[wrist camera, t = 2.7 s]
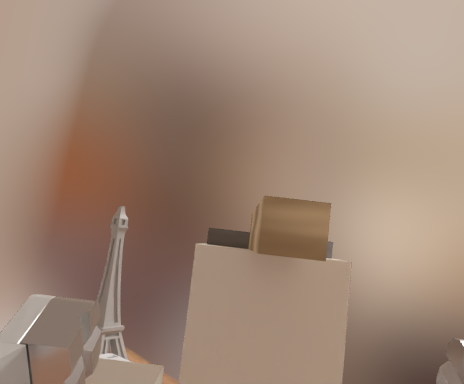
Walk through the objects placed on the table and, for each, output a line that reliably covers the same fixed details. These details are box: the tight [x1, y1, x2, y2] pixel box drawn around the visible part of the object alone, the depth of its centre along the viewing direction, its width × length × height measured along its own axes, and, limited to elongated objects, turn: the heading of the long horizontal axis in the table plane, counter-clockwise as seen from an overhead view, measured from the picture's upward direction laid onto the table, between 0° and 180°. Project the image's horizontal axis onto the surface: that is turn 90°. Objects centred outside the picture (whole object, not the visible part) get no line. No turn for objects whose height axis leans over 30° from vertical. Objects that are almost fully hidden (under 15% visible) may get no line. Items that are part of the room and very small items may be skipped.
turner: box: [207, 196, 333, 261], centre depth 31 cm, size 23×9×3 cm, turn 0°
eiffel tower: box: [97, 206, 129, 360], centre depth 64 cm, size 13×13×30 cm
